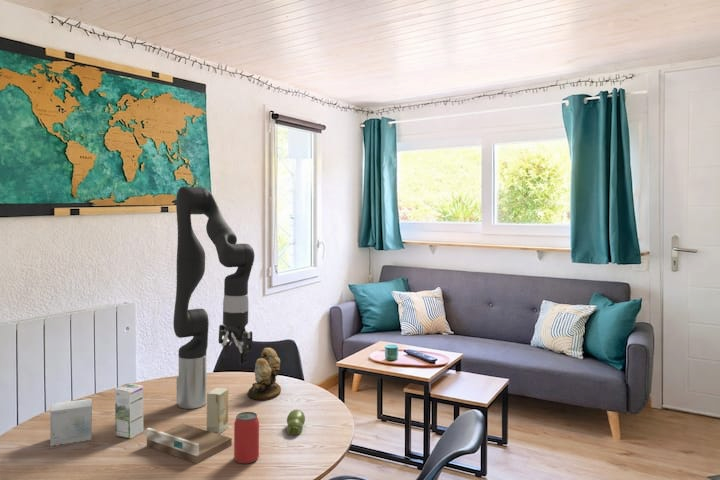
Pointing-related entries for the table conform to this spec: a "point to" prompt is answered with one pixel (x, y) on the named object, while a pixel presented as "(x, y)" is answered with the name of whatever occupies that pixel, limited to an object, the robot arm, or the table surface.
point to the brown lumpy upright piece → (266, 376)
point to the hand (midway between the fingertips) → (234, 361)
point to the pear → (295, 422)
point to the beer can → (246, 437)
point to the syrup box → (129, 410)
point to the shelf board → (187, 442)
